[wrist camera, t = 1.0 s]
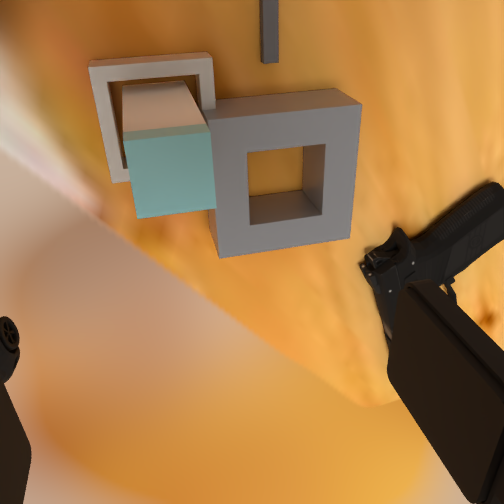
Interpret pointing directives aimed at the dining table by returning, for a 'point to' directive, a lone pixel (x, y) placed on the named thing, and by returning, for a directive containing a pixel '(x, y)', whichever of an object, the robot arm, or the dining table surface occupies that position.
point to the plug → (167, 150)
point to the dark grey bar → (269, 31)
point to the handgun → (435, 250)
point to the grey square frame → (143, 69)
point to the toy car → (8, 348)
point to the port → (314, 169)
